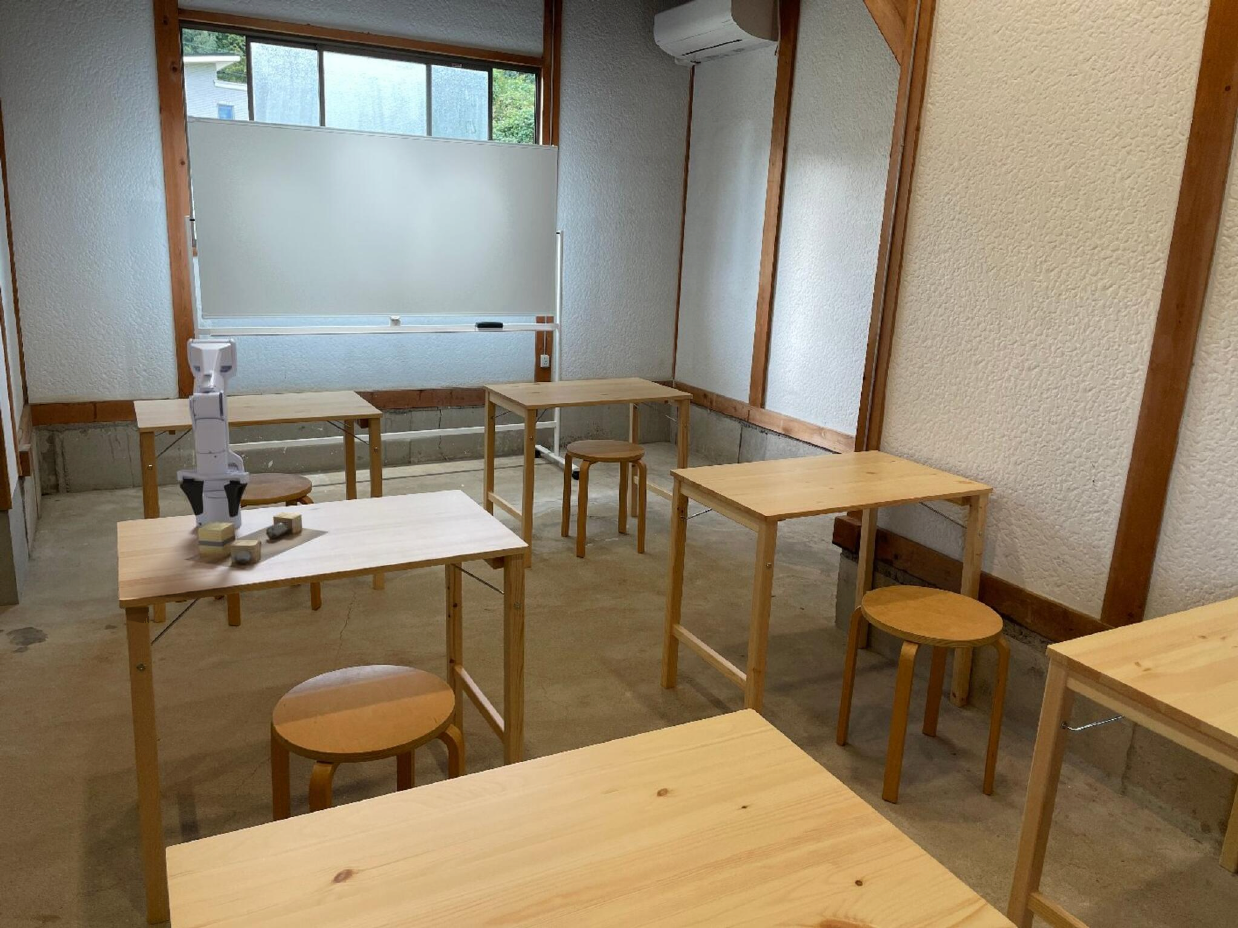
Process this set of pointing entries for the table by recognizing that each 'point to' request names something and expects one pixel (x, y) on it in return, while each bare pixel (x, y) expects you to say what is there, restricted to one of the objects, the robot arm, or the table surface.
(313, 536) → the board
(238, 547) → the shaft
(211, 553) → the tan wooden block
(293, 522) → the shaft
